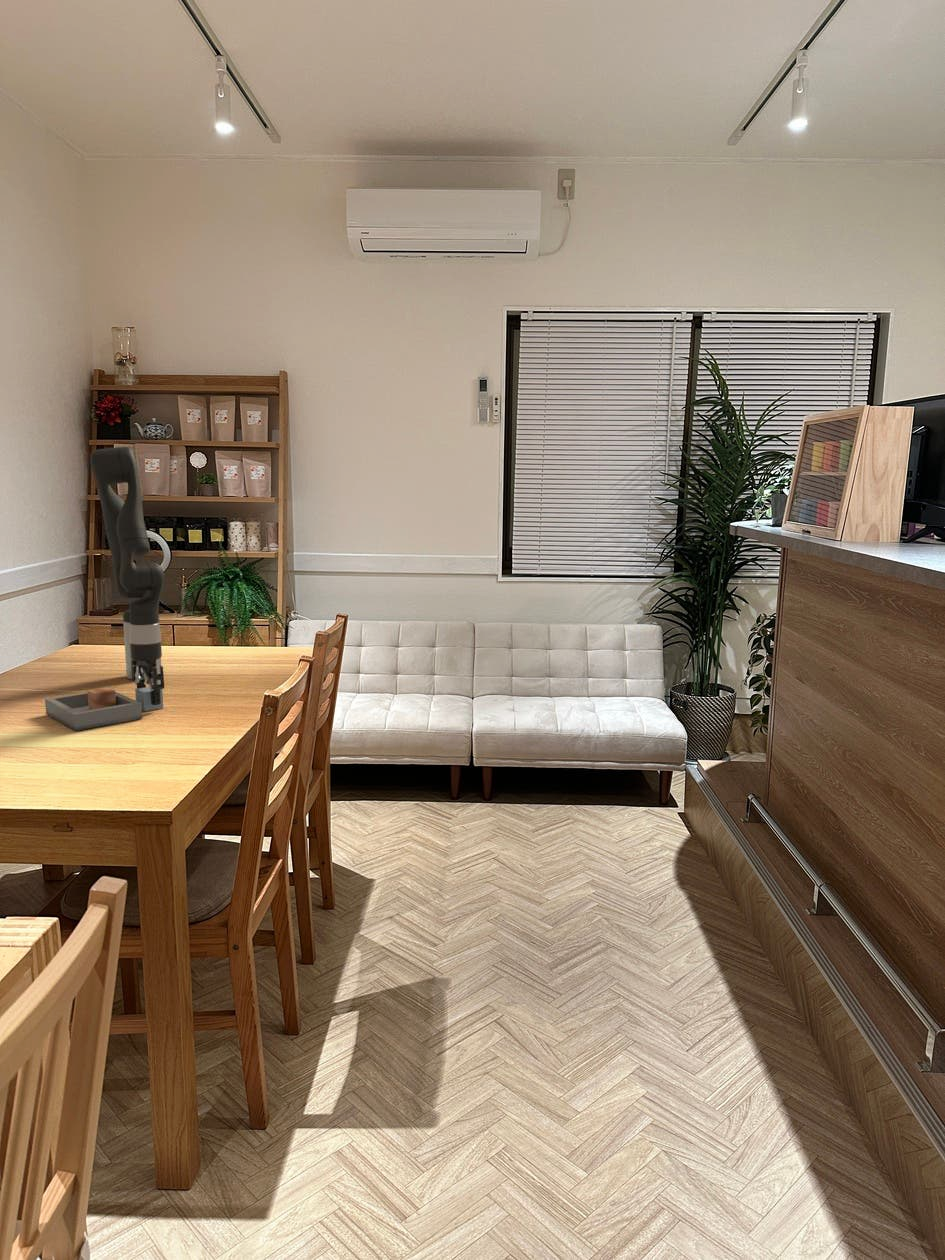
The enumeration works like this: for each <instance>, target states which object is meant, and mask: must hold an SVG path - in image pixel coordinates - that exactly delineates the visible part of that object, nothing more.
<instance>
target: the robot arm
mask: <svg viewBox="0 0 945 1260" xmlns="http://www.w3.org/2000/svg"><path fill="white" fill-rule="evenodd" d="M89 457H90V461H89V462H90V468H91V471H92V475H93V479H94V480H93V481H94V483H95V487H96V491H97V494H98V497H99V500H100V501H99V503H100V505H101V512H102V518H103V525H104V529H105V535H106V538H107V541H108V547H109V551H110V553H111V561H112V567H113V576H114V583H115V590H116V592H117V595H118V596H119V597H120V598H124V599H135V600H133V601H131V602H130V603H129V606H128V607H129V608H128V609H126V610H125V611H124V612H123V614H122V621H123V622H122V623H123V637H124V651H125V652H124V655H125V670H126V671H125V673H126V679H128V680H131V681H132V683H133V682H134V684H135V686H136V689H139V688H145V687H147V685H148V687H150V690H151V704H152V705H159V704H160V703H161V699H160V690H161V689H162V690H164V689H165V678H164V666H163V665H162V658H163V657H162V655H163V653H162V651H163V650H162V633H161V627H160V617H159V616H160V615H159V611H160V610H159V607H160V606H159V605H160V599H161V594H162V590H163V586H164V582H165V573H164V572H165V571H164V570H163V567H162V566H161V565H160V564H159V563H157V562H142V563H140V562H139V563H138V562H137V563H134V560H135V559H141V558H143V557H145V556H147V555H148V554H149V553H150V551H151V546H150V542H149V538H148V531H147V529H146V523H145V520H144V519H145V518H144V510H143V497H142V490H141V483H140V481H141V479H140V474H139V468H138V463H137V459H136V456H135V452H134V450H132V448H131V447H129V446H118V447H110V448H109V447H107V448H100V449H95V450H93V451H92V452H91V453H90V455H89ZM125 483H126V484H127V494H126V497H125V500H124V499H122V498H121V497H120V496H119V495H118V494H117V493H116V492H115V491H114V489H113V488H112V487H111V485H116V484H117V485H118V484H125Z"/></svg>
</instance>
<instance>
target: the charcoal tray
mask: <svg viewBox="0 0 945 1260" xmlns="http://www.w3.org/2000/svg"><path fill="white" fill-rule="evenodd" d="M115 694H116V706H111V707H105V708H100V709H94V710H89V706H88V691H85V692H79V693H73V694H67V695H66V694H65V695H60V696H55V697H54V696H53V697H47V698H44V702H45V703H44V705H45V715H47V716H48V717H51V718H52V719H54V720H56V721H57V722H59V723H61V724H62V725H64V726H66V727H68V728H69V729H72V730H73V731H75V732H77V731H83V730H88V729H95V728H99V727H104V726H109V725H116V724H119V723H125V722H130V721H136V720H141V719H143V714H142V712H143V710H142V708H141V703H140V702H138V701H136V699H133V698H130V697H129V696H126V695H124V694H122V693H120V692H117V691H115Z"/></svg>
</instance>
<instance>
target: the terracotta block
mask: <svg viewBox="0 0 945 1260" xmlns="http://www.w3.org/2000/svg"><path fill="white" fill-rule="evenodd" d="M86 692H88V706H89V710H94V709H100V708H105V707H111V706H116V694H115V692H116V690H115V689H113V688H110V687H108V686H107V687H106V686H105V687H100V688H99V687H98V688H93V689H87V691H86Z"/></svg>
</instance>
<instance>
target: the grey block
mask: <svg viewBox="0 0 945 1260" xmlns="http://www.w3.org/2000/svg"><path fill="white" fill-rule="evenodd" d="M134 690H135V693H134V694H135V700H136V701H138V702H140V703H141V708H142V712H150V711H153V710H154V711H155V710H158V709H159V710H160V709H163V708H164V698H163V697H164V695H163V694H164V693H163V689H161V690H160V699H161V703H160V704H159V705H152V704H151V690H150V687H149V686H146V687H145V688H139V689H137V688H135V689H134Z"/></svg>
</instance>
